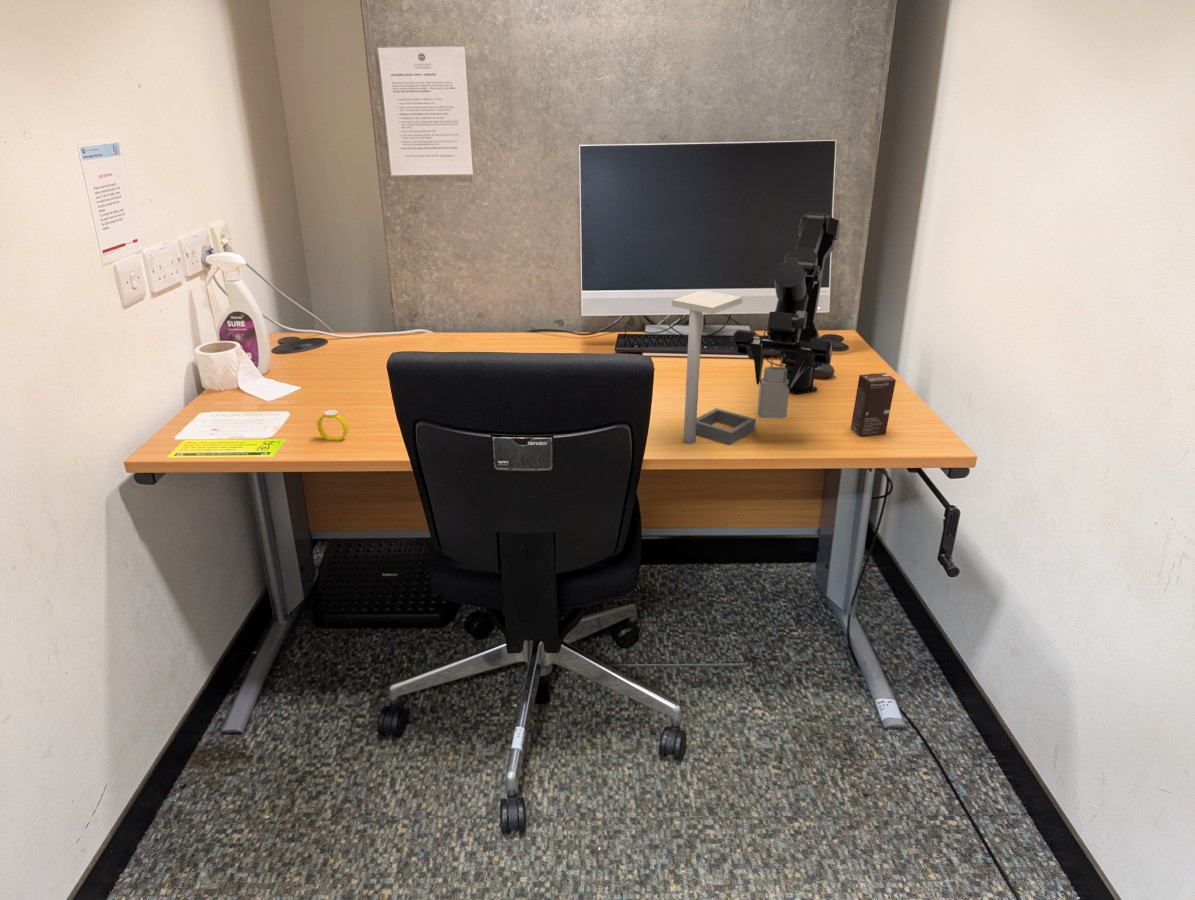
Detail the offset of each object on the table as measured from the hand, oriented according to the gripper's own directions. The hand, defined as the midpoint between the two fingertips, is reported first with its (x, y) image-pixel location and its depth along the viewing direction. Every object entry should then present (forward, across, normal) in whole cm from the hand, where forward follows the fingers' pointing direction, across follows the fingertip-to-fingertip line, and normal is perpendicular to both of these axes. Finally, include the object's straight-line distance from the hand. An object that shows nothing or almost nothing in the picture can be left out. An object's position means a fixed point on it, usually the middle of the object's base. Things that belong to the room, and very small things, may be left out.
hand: (773, 385), depth 155 cm
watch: (+31, -81, -14) cm, 88 cm away
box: (-1, +18, +19) cm, 26 cm away
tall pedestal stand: (+8, -12, +9) cm, 17 cm away
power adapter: (+4, 0, +6) cm, 7 cm away
